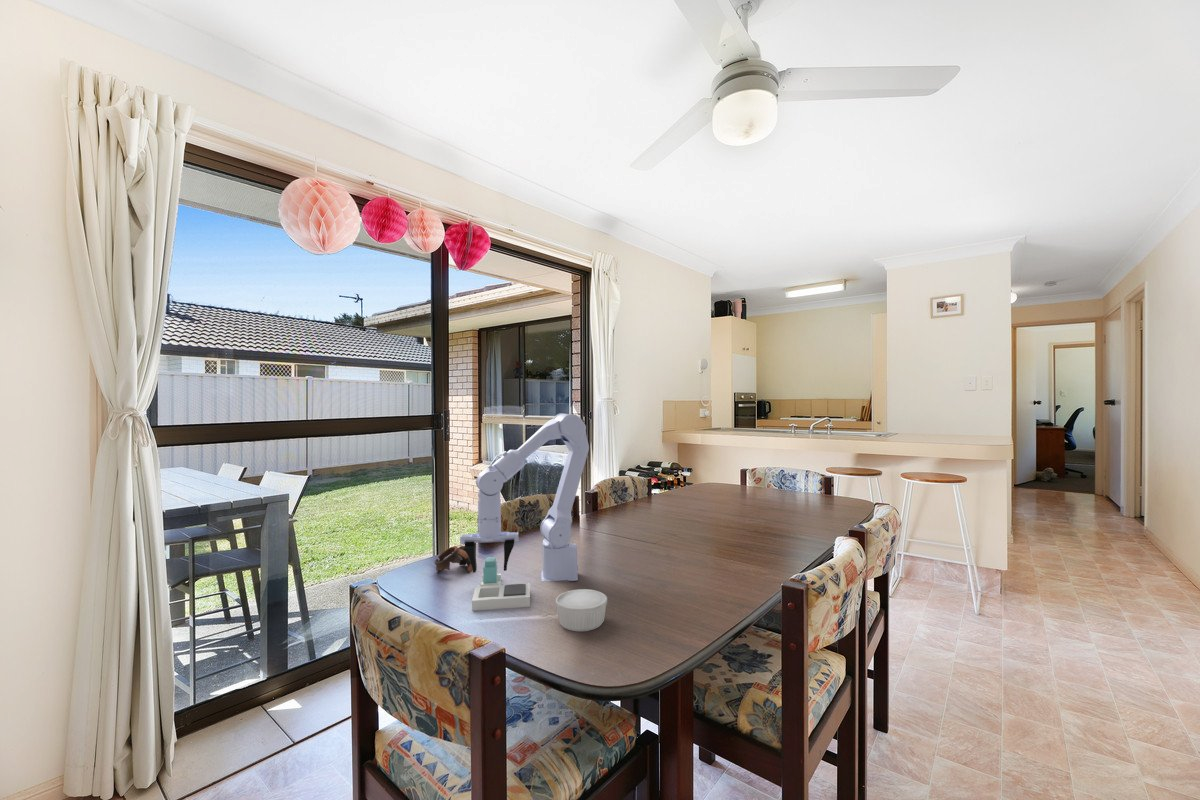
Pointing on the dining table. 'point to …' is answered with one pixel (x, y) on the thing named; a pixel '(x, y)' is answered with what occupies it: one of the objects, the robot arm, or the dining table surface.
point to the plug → (490, 570)
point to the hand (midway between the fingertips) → (490, 570)
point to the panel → (501, 596)
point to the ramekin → (581, 609)
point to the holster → (492, 583)
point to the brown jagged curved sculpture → (453, 558)
